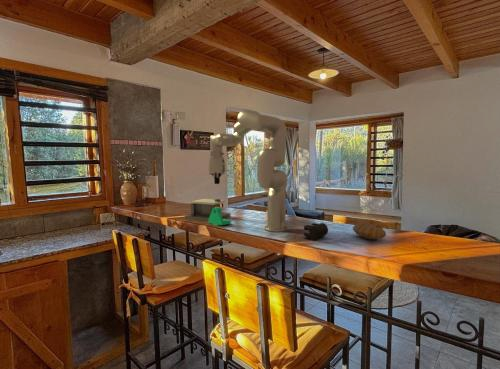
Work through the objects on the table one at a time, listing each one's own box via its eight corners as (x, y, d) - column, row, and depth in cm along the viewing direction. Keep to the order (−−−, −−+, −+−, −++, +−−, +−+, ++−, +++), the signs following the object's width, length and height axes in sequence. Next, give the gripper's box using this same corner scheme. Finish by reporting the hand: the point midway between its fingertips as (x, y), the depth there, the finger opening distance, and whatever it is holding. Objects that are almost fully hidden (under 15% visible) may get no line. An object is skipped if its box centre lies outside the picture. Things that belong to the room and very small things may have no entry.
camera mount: (231, 224, 161) (231, 207, 161) (221, 227, 156) (221, 208, 155) (218, 222, 170) (218, 205, 169) (208, 224, 164) (208, 206, 163)
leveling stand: (230, 216, 187) (230, 201, 187) (214, 221, 169) (213, 205, 169) (202, 213, 197) (202, 200, 196) (184, 219, 179) (184, 203, 178)
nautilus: (362, 232, 144) (394, 238, 134) (345, 237, 128) (380, 245, 118) (364, 216, 144) (396, 222, 134) (347, 220, 128) (382, 227, 118)
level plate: (225, 202, 185) (225, 198, 184) (214, 204, 172) (214, 200, 172) (203, 200, 192) (203, 197, 192) (191, 203, 179) (191, 199, 179)
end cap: (316, 242, 124) (317, 227, 124) (303, 239, 129) (303, 224, 129) (328, 238, 131) (328, 223, 131) (315, 235, 136) (315, 221, 136)
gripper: (229, 154, 177) (230, 183, 178) (209, 155, 184) (210, 183, 185) (223, 154, 170) (224, 184, 172) (203, 155, 177) (203, 184, 178)
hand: (217, 183), depth 178 cm, fingers closed
